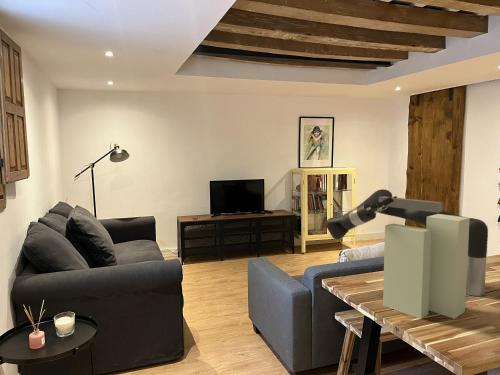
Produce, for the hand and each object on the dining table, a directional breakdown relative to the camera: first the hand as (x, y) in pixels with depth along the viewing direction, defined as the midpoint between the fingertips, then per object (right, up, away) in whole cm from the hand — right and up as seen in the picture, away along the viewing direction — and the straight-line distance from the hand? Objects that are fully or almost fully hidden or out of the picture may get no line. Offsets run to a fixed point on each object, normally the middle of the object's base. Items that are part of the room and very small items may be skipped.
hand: (394, 198), depth 149 cm
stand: (+20, -45, -1) cm, 49 cm away
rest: (+4, -45, 0) cm, 45 cm away
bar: (+4, -4, -4) cm, 7 cm away
